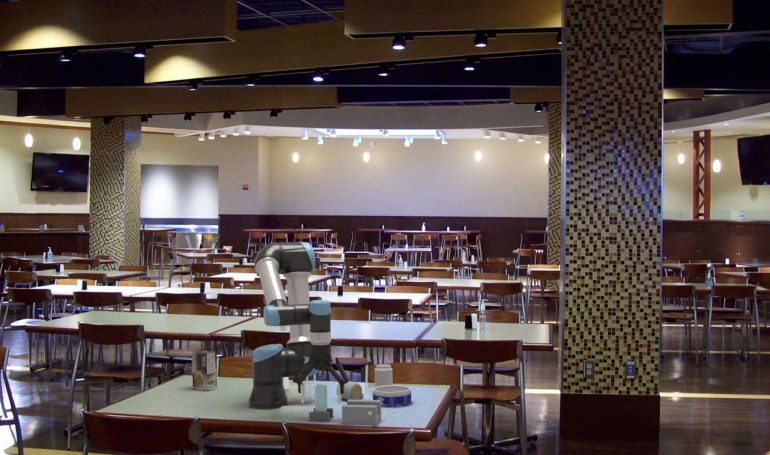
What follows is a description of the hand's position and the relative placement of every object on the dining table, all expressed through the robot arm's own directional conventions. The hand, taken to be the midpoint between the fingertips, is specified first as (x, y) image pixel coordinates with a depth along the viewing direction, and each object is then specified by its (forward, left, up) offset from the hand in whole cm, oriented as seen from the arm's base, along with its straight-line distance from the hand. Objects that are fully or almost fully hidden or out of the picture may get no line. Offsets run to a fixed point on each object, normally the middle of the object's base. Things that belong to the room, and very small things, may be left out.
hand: (321, 402), depth 304 cm
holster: (0, 0, -7) cm, 7 cm away
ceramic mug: (+4, +39, -7) cm, 40 cm away
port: (+15, -1, -7) cm, 16 cm away
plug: (0, 0, -6) cm, 6 cm away
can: (+15, +51, -7) cm, 54 cm away
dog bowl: (+21, +33, -7) cm, 40 cm away
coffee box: (-64, +54, -7) cm, 84 cm away
